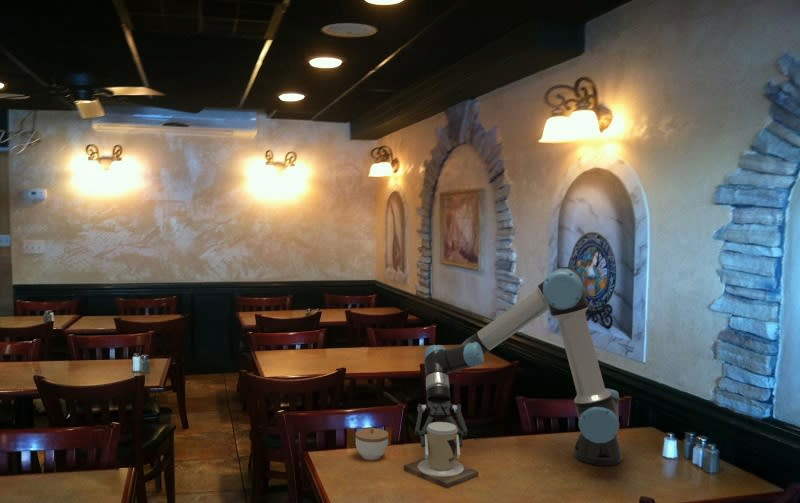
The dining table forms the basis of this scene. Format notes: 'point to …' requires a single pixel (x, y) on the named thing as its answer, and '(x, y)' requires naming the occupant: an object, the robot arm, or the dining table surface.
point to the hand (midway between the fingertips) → (442, 456)
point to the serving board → (441, 473)
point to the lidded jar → (371, 443)
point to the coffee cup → (441, 445)
